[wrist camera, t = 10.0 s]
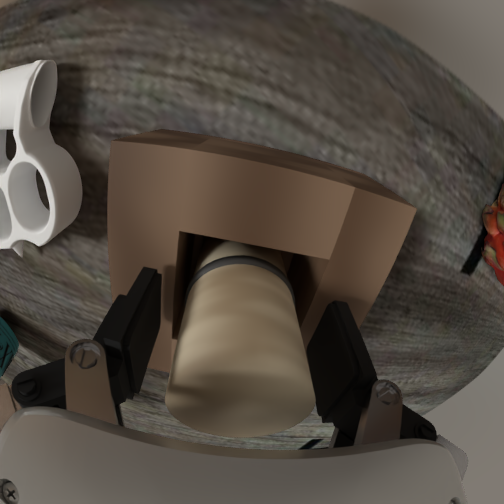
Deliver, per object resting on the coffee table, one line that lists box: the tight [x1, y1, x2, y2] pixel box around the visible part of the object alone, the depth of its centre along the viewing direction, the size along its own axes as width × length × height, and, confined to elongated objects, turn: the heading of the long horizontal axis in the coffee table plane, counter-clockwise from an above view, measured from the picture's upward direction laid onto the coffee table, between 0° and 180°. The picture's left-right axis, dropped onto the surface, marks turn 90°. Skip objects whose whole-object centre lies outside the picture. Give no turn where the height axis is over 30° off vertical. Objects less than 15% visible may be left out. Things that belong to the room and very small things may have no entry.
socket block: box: [107, 129, 417, 380], centre depth 14 cm, size 12×12×6 cm
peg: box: [165, 236, 316, 438], centre depth 11 cm, size 5×5×10 cm
